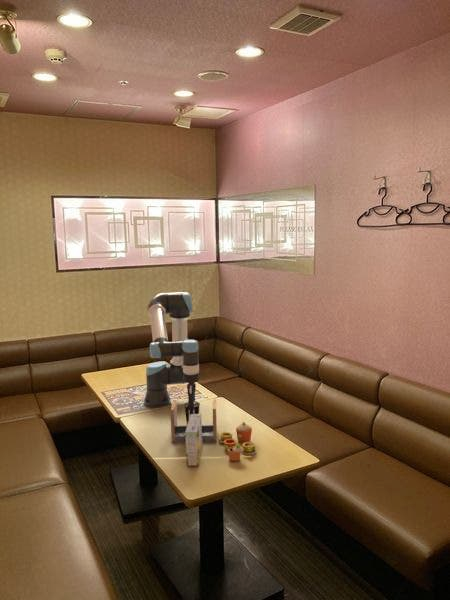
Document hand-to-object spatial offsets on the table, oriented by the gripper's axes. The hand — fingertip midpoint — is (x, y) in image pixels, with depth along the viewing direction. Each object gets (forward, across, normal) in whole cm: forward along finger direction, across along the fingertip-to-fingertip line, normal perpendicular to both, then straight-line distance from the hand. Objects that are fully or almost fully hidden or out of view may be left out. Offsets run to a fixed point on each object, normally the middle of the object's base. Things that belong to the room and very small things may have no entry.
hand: (192, 419), depth 230 cm
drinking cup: (+6, 0, 0) cm, 6 cm away
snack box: (+9, +20, +2) cm, 22 cm away
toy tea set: (+9, +14, +22) cm, 27 cm away
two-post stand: (+8, 0, +1) cm, 9 cm away
